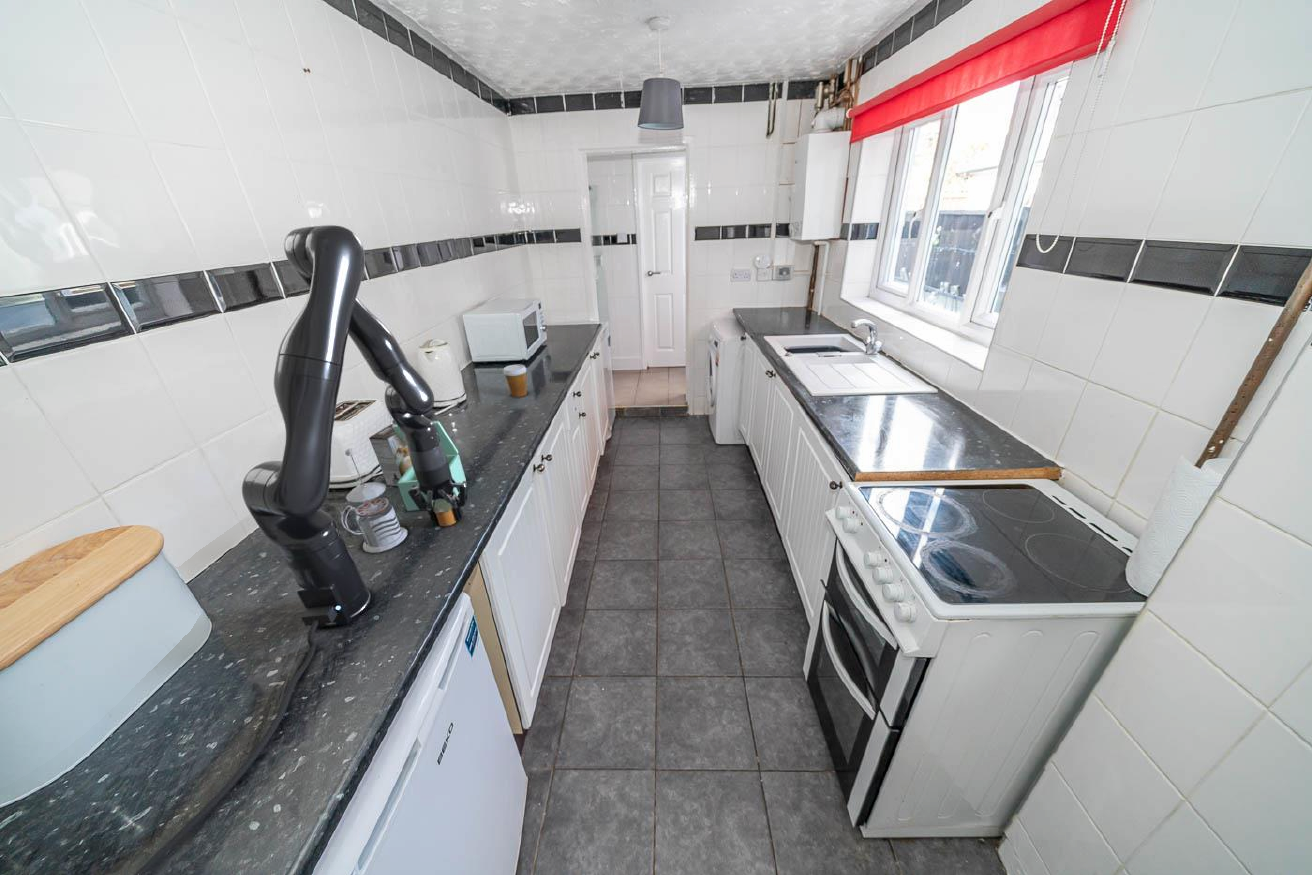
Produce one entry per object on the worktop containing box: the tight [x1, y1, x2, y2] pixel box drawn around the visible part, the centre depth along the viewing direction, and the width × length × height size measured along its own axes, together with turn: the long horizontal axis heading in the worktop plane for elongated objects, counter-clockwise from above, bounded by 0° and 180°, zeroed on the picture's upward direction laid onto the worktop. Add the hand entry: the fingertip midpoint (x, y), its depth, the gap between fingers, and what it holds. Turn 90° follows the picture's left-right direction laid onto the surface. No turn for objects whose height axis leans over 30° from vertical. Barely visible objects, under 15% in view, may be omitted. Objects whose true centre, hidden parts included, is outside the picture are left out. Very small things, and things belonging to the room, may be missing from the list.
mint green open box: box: [397, 453, 467, 512], centre depth 125 cm, size 14×12×9 cm
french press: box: [340, 448, 408, 554], centre depth 104 cm, size 10×12×25 cm
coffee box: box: [368, 423, 412, 487], centre depth 133 cm, size 9×6×16 cm
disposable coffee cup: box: [502, 364, 528, 398], centre depth 193 cm, size 10×10×12 cm
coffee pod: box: [433, 501, 457, 527], centre depth 115 cm, size 5×5×4 cm
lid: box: [392, 412, 459, 455], centre depth 125 cm, size 14×12×6 cm
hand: (448, 519), depth 116 cm, fingers closed on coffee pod, 5 cm apart
